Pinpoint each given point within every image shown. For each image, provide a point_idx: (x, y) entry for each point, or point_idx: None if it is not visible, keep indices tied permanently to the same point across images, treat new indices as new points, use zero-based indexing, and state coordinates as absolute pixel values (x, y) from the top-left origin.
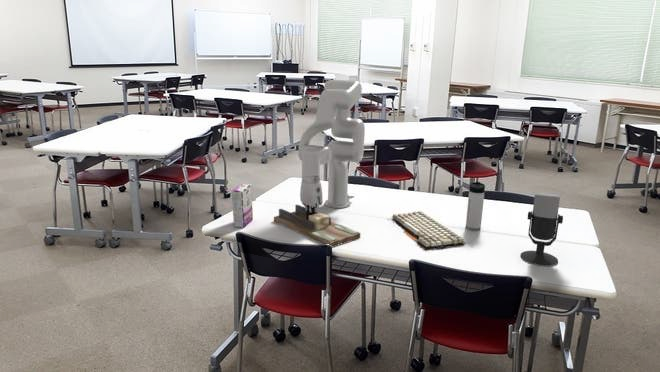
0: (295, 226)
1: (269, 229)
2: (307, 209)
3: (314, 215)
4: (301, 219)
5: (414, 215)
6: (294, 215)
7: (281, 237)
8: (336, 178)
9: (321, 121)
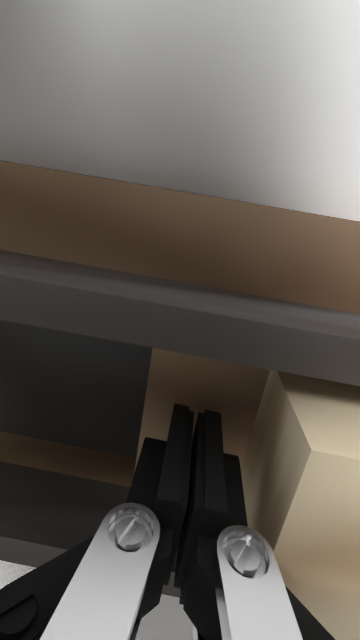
0: None
1: (9, 579)
2: (138, 628)
3: (318, 585)
4: (169, 585)
5: None
6: (27, 562)
7: (173, 628)
8: None
9: None
